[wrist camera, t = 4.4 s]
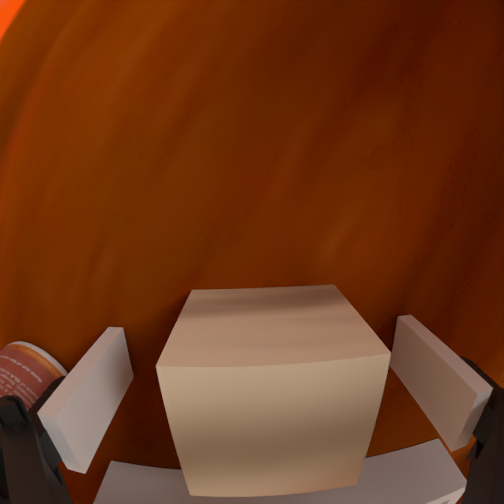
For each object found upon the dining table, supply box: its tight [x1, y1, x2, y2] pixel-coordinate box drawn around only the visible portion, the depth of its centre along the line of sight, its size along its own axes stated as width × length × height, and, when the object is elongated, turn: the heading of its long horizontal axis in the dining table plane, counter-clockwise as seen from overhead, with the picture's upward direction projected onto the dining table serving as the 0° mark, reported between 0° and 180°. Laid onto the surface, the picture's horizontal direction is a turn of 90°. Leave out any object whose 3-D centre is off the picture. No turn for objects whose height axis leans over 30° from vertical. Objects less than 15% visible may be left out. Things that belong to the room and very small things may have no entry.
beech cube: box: [156, 284, 391, 497], centre depth 11 cm, size 6×6×6 cm
